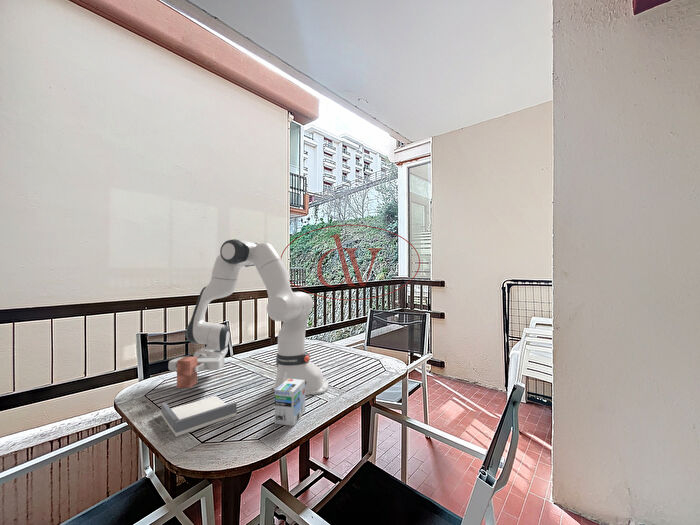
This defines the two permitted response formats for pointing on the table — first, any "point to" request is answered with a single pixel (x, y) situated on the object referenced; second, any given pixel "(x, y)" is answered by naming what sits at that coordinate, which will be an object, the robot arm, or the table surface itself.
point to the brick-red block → (186, 372)
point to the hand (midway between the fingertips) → (186, 370)
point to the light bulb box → (289, 402)
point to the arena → (197, 414)
